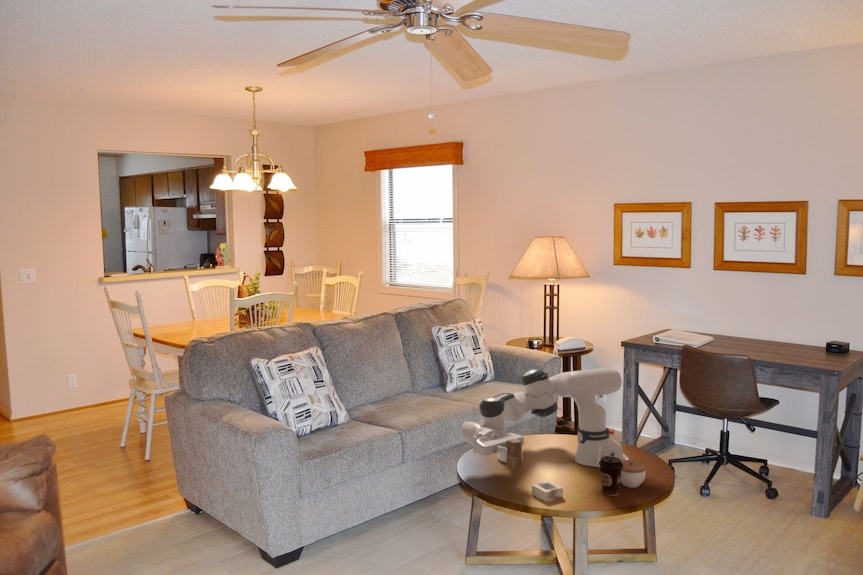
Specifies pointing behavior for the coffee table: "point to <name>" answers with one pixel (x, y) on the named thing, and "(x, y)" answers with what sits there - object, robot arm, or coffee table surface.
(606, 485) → the coffee cup
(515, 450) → the walnut pillar
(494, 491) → the coffee table surface
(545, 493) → the birch plinth
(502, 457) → the teardrop
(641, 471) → the lidded jar
